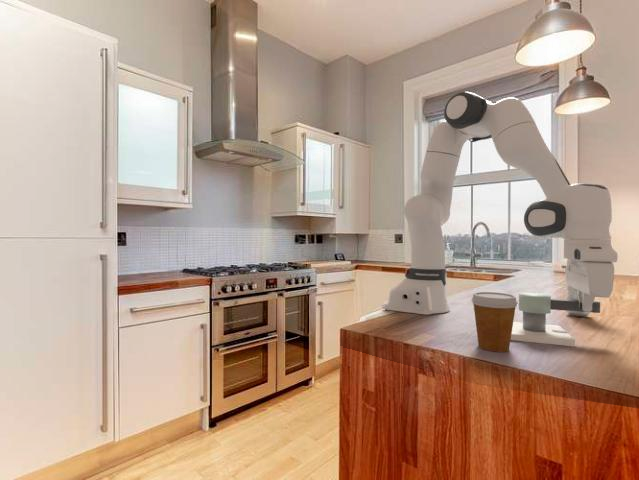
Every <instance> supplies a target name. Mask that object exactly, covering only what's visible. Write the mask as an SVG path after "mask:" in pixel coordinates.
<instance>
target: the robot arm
mask: <svg viewBox="0 0 639 480" xmlns="http://www.w3.org/2000/svg"><path fill="white" fill-rule="evenodd" d="M443 115H444V121H440V122H438V123H437V125H435V127H434V129H433V130H432V131H433V132H432V133H431V136H430V138H429V141H428V144H427V147H426V151H425V154H424V155H425V156H424V159H423V163H422V167H421V172H420V193H419V194H417V195H413V196H412V197H410V198H409V199H408V200H407V202H405V204H404V209H403V210H404V211H403V212H404V213H403V214H404V217H405V218H406V221H407V228H408V233H409V238H410V245H411V246H410V247H411V249H410V250H411V251H410V252H411V255H410V258H411V260H410V261H411V265H410V267H406V268H405V270H404V275H405V276H404V277H405V278H404V279H403V280H401V281H400V282H399V283H397V284H396V285H395V286H393V287H392V288H391V289H390V292H389V295H388V300H386V301H383V303H382V304H381V308H382V309H383V310H387V311H394V312H401V313H402V312H403V313H410V314H411V313H412V314H418V315H426V316H427V315H432V314H443V313H448V312H450V310H451V309H450V306H449V302H448V297H447V291H446V286H447V275H448V273H447V268H446V245H445V241H444V236H443V229H442V227H443V225H445V224H446V223H447V222H448V220H449V219H450V215H451V206H452V200H453V199H452V198H453V188H454V183H455V178H456V173H457V169H458V167H459V162H460V159H461V154H462V150H463V148H464V145H465V143H466V142H467V141H469V142H471V143H476V142H478V141H482V140H483V141H484V140H489V139H492V142H493V145H494V148H495V150H496V152H497V155H498V156H499V157H500V159H502V161H503V162H504V163H505V164H506V165H508V166H510V167H512V168H515V169H517V170H519V171H522V172H524V173H526V174H528V175H529V176H530V177H532V178H533V179H534V180H535V181H536V182H537V183H538V184H539V186H540V188H541V191H542V192H543V194H544V196H545V198H544V199H541V200H537V201H535V202H532V203H531V204H530V205H528V206H527V208H526V210H525V212H524V214H523V215H524V216H523V224H524V226H525V228H526V230H527V232H528V233H530V234H531V235H533V236H535V237H541V238H551V239H552V238H554V239H557V238H560V239H561V238H562V239H563V258H564V259H566V266H567V267H566V266H565V268H566V272H565V273H566V274H565V284H566V286H567V285H568V286H570V287H573V288H575V289H577V295H578V300H579V308H580V309H582V310H583V311H586V312H590V313H592V312H591V311H592V304H593V301H595V298H610V297H611V295H612V293H613V290H614V279H615V265H614V263H617V262H618V252H617V251H616V250H615V249H614V248H613V246H612V236H611V234H610V233H611V232H610V226H611V223H612V222H613V221H612V219H613V217H612V213H613V212H612V211H613V210H612V199H611V194H610V191H609V189H608V188H607V187H606V186H605V185H602V184H595V183H583V182H576V183H575V182H574V183H570V181H569V180H568V178H567V176H566V174H565V172H564V171H563V169H562V167H561V166H560V163H558V161H557V160H556V158H555V156H554V155H553V154H552V151H550V149H549V147H548V145H547V144H546V141H545V140H544V138H543V136H542V135H541V134H542V133H541V132H540V130H539V127H538V125H537V124H536V121H535V119H534V118H533V116H532V114H531V112H530V111H529V110H528V108H527V106H526V105H525V104H524V103H523V102H522V100H520V99H519V98H516V97H507V98H503V99H501V100H498V101H496V103H495V102H494V103H492V102H491V101H489V99H487V98H484V97H482V96H480V95H478V94H476V93H474V92H469V91H461V92H460V91H459V92H457V93H455V94H453V95H452V96H451V97H450V98H449V100H447V102H446V104H445V106H444V110H443Z"/></svg>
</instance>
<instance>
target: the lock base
mask: <svg viewBox="0 0 639 480" xmlns="http://www.w3.org/2000/svg"><path fill="white" fill-rule="evenodd" d="M546 318H547V314H536V313H528V312H523V311H522V322H521V321H513V327H512V334H511V340H510V341H516V342H525V343H535V344H536V343H537V344H545V345H547V344H548V345H554V346H557V345H558V346H565V347H576V339H575V338H573V337H572V335H570V333H568V331H567V330H565V329H563V328H562V327H561V326H560V325H557V324H547V323H546V322H547V319H546Z"/></svg>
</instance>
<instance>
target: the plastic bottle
mask: <svg viewBox="0 0 639 480" xmlns="http://www.w3.org/2000/svg"><path fill="white" fill-rule="evenodd" d="M566 267H567V265H566V266H565V268H564V272H565V273H564V274H565V275H566ZM566 286H567V287H566V299H565V300H578V295H577V289H575V288H573V287H570V286H568V285H567V284H566ZM565 312H566V314H567V315H570V316H573V317H578V318H579V317H588V316H589V315H590V314H591V312H579V311H565Z"/></svg>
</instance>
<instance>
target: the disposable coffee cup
mask: <svg viewBox="0 0 639 480" xmlns="http://www.w3.org/2000/svg"><path fill="white" fill-rule="evenodd" d="M470 300H471V302H472V304H473V310H474V311H473V312H474V319H475V328H476V336H477V342H478V343H477V344H478V348H481V349H483V350H487V351H488V352H489V351H490V352H497V353H498V352H499V353H503V352H508V351H509V350H510V345H511V341H512V340H511V334H512V327H513V322H514V319H515V313H516V308H517V306H518V305H519V301H517V297H516V296H515V295H513V294H509V293H503V292H496V291H495V292H494V291H492V292H491V291H478V292H474V293H473V295H472V297H471V299H470Z"/></svg>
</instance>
